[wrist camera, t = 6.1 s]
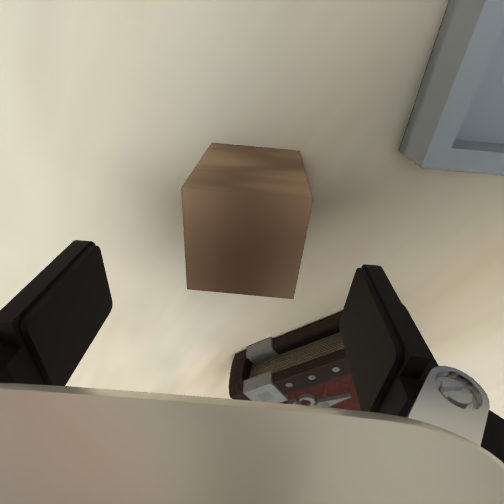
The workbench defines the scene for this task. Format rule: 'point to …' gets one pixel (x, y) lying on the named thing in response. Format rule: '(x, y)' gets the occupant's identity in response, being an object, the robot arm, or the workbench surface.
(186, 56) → the workbench surface
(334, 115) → the workbench surface
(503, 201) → the workbench surface
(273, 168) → the walnut block
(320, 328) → the book
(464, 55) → the tray
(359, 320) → the robot arm
